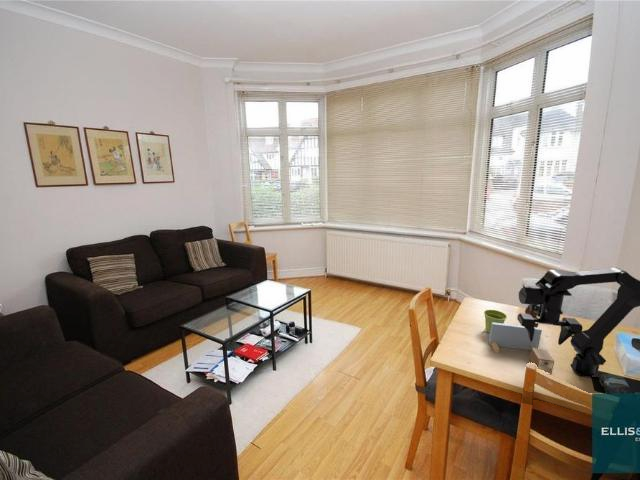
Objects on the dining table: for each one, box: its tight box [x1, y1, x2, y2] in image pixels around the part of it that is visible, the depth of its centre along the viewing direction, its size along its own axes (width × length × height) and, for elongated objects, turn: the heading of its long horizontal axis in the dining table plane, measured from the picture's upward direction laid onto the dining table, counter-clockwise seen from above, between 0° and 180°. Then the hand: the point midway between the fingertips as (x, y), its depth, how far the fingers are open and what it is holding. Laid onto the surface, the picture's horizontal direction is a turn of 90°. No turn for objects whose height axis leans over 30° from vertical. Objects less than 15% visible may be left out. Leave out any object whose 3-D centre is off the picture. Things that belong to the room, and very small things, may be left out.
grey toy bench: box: [488, 322, 542, 353], centre depth 126 cm, size 18×6×10 cm, turn 74°
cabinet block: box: [528, 348, 555, 375], centre depth 116 cm, size 5×7×6 cm
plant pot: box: [483, 309, 508, 334], centre depth 141 cm, size 9×9×9 cm
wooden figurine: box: [520, 304, 539, 328], centre depth 140 cm, size 7×6×15 cm
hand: (544, 342), depth 114 cm, fingers open, 9 cm apart
